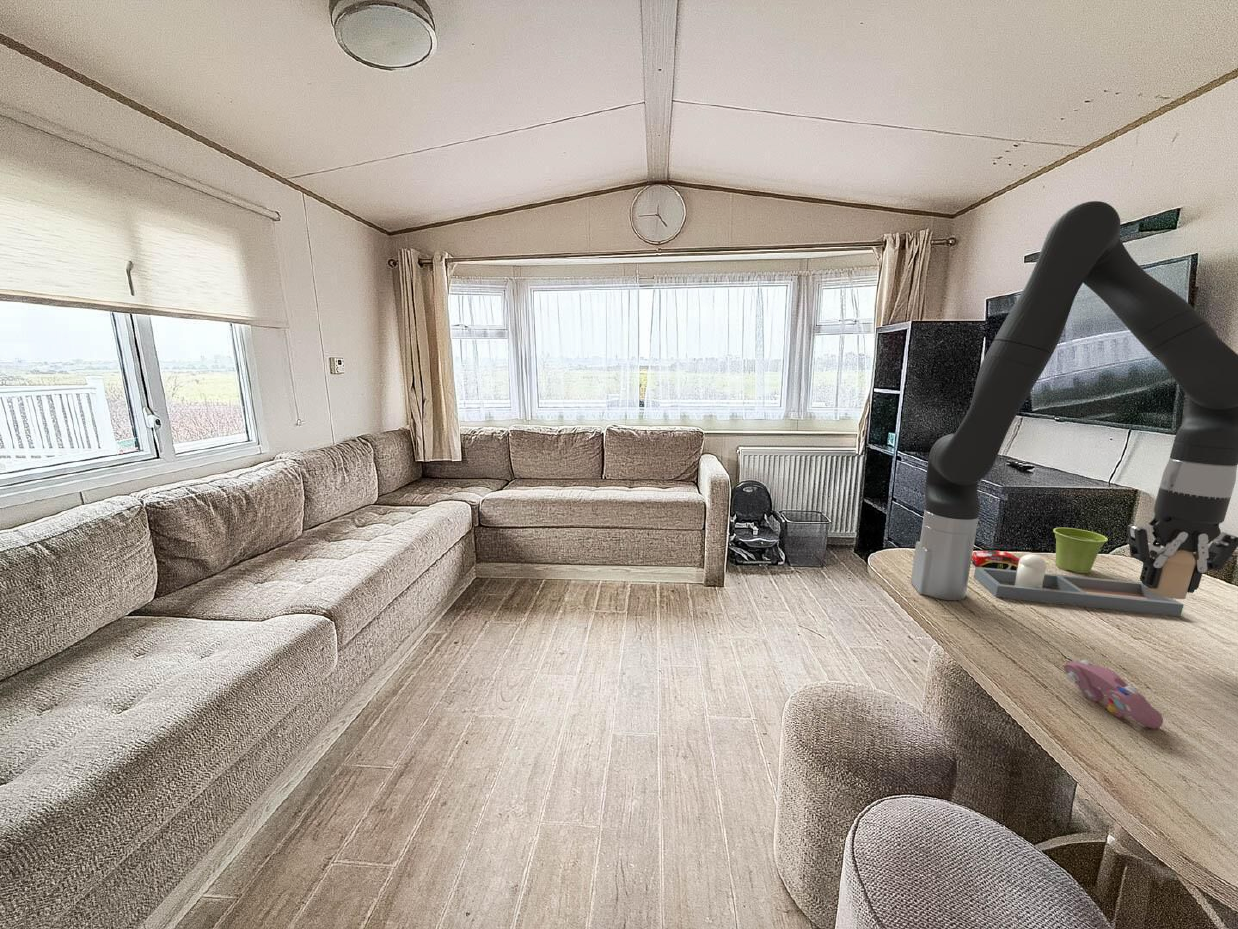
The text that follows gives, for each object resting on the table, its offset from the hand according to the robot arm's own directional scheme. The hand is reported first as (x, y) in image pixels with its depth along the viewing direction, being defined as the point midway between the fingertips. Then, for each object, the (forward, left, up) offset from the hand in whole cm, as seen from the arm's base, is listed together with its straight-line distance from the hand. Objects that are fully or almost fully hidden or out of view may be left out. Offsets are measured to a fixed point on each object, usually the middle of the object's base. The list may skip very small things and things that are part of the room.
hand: (1167, 588), depth 81 cm
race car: (-8, +32, -11) cm, 35 cm away
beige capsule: (0, 0, -1) cm, 1 cm away
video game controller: (-19, -20, -11) cm, 30 cm away
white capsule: (-9, +19, -11) cm, 24 cm away
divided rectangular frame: (-2, +19, -11) cm, 22 cm away
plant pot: (+8, +36, -11) cm, 39 cm away
